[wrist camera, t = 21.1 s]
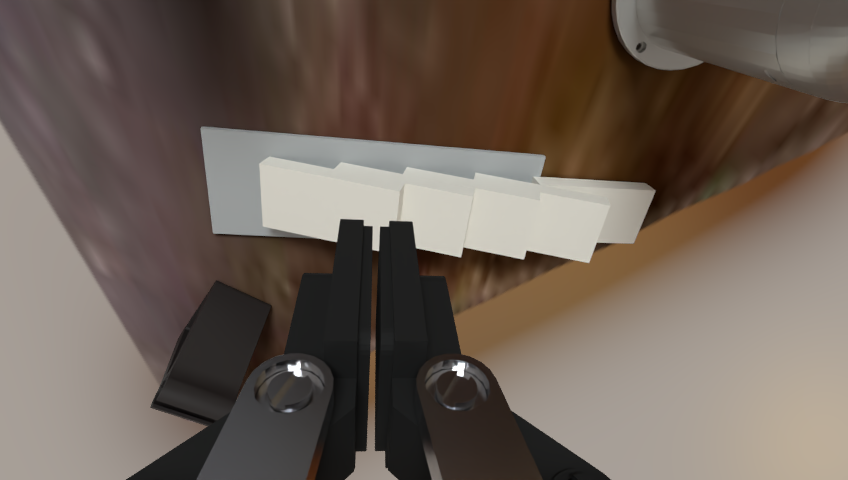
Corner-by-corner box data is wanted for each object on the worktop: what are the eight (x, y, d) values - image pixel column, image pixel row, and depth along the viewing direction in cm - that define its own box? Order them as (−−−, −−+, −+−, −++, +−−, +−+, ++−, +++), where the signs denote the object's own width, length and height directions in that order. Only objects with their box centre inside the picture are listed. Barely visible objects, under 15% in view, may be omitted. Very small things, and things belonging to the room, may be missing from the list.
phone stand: (217, 278, 46) (177, 369, 36) (272, 304, 49) (248, 396, 39) (178, 336, 50) (131, 434, 39) (232, 357, 52) (200, 455, 42)
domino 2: (340, 161, 41) (475, 188, 40) (338, 221, 44) (463, 247, 43) (333, 169, 39) (473, 196, 38) (331, 230, 42) (460, 257, 41)
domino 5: (533, 176, 44) (645, 182, 46) (518, 231, 47) (624, 234, 49) (540, 184, 42) (655, 190, 45) (524, 240, 45) (633, 243, 48)
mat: (543, 155, 43) (545, 157, 43) (519, 245, 49) (520, 248, 48) (202, 126, 39) (200, 128, 38) (214, 230, 44) (213, 233, 43)
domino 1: (262, 226, 41) (392, 254, 40) (259, 163, 38) (399, 191, 37) (272, 217, 43) (397, 244, 42) (269, 156, 40) (404, 183, 39)
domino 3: (407, 166, 42) (539, 192, 41) (400, 224, 45) (523, 249, 44) (402, 174, 40) (540, 200, 39) (395, 233, 43) (523, 259, 42)
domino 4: (475, 172, 43) (607, 197, 42) (464, 228, 46) (586, 253, 45) (473, 179, 41) (610, 205, 40) (462, 237, 44) (589, 263, 43)
